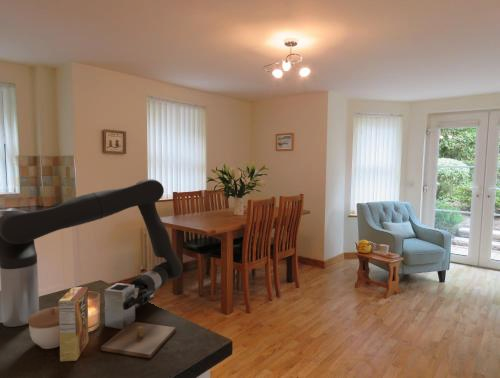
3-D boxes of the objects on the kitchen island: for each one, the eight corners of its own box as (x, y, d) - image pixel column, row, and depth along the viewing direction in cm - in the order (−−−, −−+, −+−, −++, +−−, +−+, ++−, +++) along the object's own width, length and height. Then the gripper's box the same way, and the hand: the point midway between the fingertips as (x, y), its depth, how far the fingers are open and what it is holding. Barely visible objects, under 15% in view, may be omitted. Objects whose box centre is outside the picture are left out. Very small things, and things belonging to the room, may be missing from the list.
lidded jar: (69, 328, 96) (68, 297, 96) (81, 343, 89) (80, 309, 88) (25, 342, 89) (23, 308, 88) (34, 359, 81) (33, 322, 81)
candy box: (72, 342, 89) (71, 286, 88) (89, 341, 90) (88, 286, 88) (59, 362, 80) (57, 300, 79) (78, 360, 81) (76, 299, 80)
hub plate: (101, 350, 85) (100, 337, 85) (132, 324, 99) (132, 313, 99) (150, 358, 82) (149, 344, 82) (175, 330, 96) (175, 319, 95)
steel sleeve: (105, 326, 98) (104, 290, 97) (117, 317, 103) (117, 282, 103) (123, 329, 96) (122, 292, 95) (135, 319, 102) (134, 284, 101)
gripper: (126, 272, 115) (93, 290, 98) (165, 276, 111) (136, 295, 95) (127, 293, 115) (94, 314, 99) (165, 297, 112) (137, 320, 96)
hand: (115, 305), depth 97 cm, fingers closed on steel sleeve, 6 cm apart
